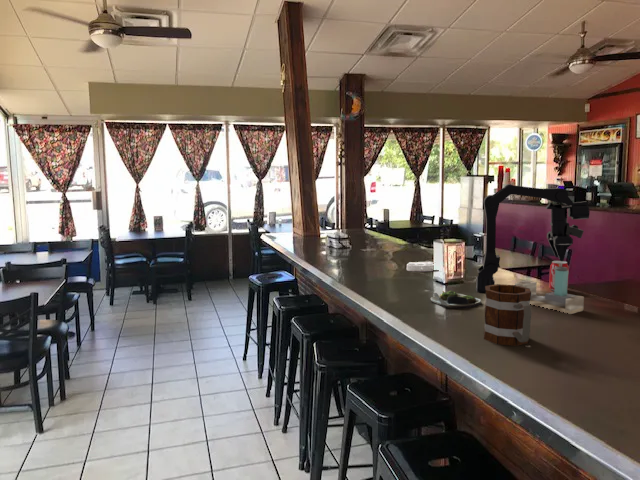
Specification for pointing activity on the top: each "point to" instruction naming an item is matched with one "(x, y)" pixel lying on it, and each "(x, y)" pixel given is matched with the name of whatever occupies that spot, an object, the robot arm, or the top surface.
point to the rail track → (570, 307)
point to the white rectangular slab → (420, 266)
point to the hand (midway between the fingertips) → (559, 259)
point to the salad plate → (455, 300)
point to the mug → (507, 314)
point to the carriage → (560, 286)
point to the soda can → (552, 272)
